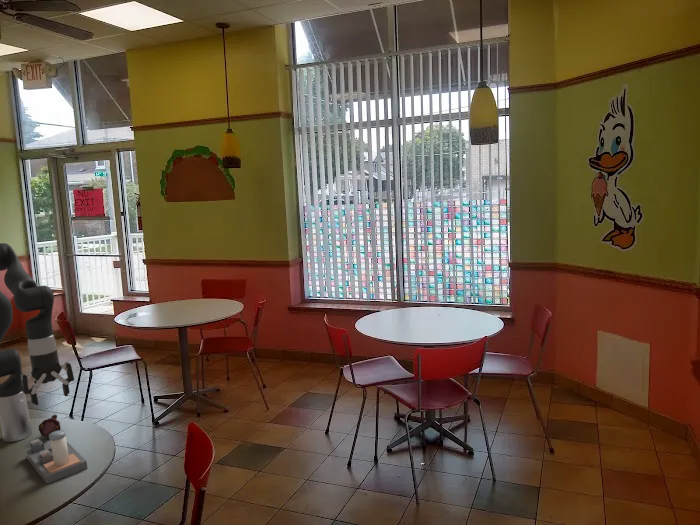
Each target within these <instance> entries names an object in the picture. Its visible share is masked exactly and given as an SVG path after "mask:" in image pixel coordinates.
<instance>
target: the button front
mask: <svg viewBox="0 0 700 525" xmlns="http://www.w3.org/2000/svg"><path fill="white" fill-rule="evenodd" d="M40 456H41V459H42V458H45V457H48V456H50V451H49V450H48V449H47V450H45V451H42V452H40Z"/></svg>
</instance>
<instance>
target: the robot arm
mask: <svg viewBox="0 0 700 525" xmlns="http://www.w3.org/2000/svg"><path fill="white" fill-rule="evenodd" d="M1 271H5V274H4V277H3V281H4V284H5V286H6V287H7V289H8V290H9V291H10V292H11V294H12V295H13V300H14V301H13V302H14V305H15V308H16V309H17V311H20V313H21V312H22V313H29V312H33V311H38V310H39V313H38V314H37V315H35V316H34V317H32V318H28V319H27V320H26V321H25V325H24V326H25V331H26V336H27V337H26V338H27V349H28V354H29V360H30V361H29V362H30V365H31V371H30V372H29V373H28V372H27V373H23V368H22V362H21V361H22V359H21V356H20V353H19V351H18V350H17V349H16V348H8V349H3V350H0V378H2V377H3V378H4V377H6V376H8V378H7V379H6V380H4V381H3V382H1V383H0V426H1V427H0V428H1V429H0V430H1V434H2V440H3V441H4V442H5V443H13V442H17V441H21V440H23V439H26V438H29V437H30V436H31V435H32V434H33V431H32V430H33V429H32V425H31V420H30V413H29V409H28V408H29V407H28V401H27V397H26V396H27V395H29V396H30V400H31V403H32V404H33V405H34V406H38V405H39V400H38V394H37V390H38V389H39V388H40V387H41V385H42V384H47V383H49V382H50V383H51V382H52V383H53V382H54V381H56V380H58V381H59V382H61V383H62V384H61V385H62V386H61V387H62V392H63V396H64V397H68V396H69V394H70V391H71V390H70V387H69V384H70V383H71V382H73V381H75V376H74V372H73V366H72V364H71V363H70V362H68V361H66V362H65V363H64V364H60V360H59V354H58V347H57V342H56V338H55V336H54V330H53V323H52V322H53V321H52V317H53V309H54V303H55V302H54V301H55V295H54V291H53V290H52V289H51V287H49V286H48V285H40V286H39V285H37V283H36V281H35V280H34V279H33V278H32V276H31V275H29V274H28V272H26V270H25V268H24V266H23V264H22V263H21V260H20V258H19V257H18V255H17V253H16V252H15V250H14V248H13V247H12V246H11V245H10V244H8V243H5V242H4V243H0V272H1ZM13 318H14V317H13V305H12V302H11V300H10V298H9V297H7V295H6V294H4V293H3V292H2V291H1V290H0V342H1V341H2V339H3V337H5V335H6V333H8V331H9V330H10V327H11V325H12V324H13ZM62 369H63V370H64V371H66V372H65V373H66V375H67V377H66V378H64V377H63V376H61V375H60V373H61V371H62ZM31 377H32V378H33V379H34V380H33V381H32V385H31V386H30V388H29V381H30V379H31Z"/></svg>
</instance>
